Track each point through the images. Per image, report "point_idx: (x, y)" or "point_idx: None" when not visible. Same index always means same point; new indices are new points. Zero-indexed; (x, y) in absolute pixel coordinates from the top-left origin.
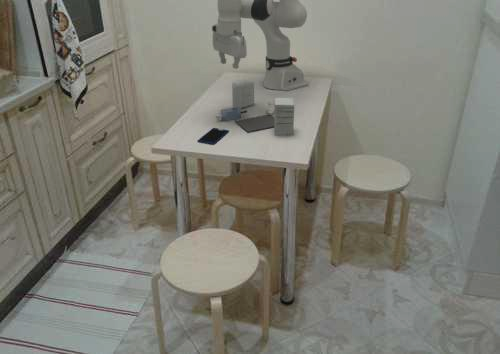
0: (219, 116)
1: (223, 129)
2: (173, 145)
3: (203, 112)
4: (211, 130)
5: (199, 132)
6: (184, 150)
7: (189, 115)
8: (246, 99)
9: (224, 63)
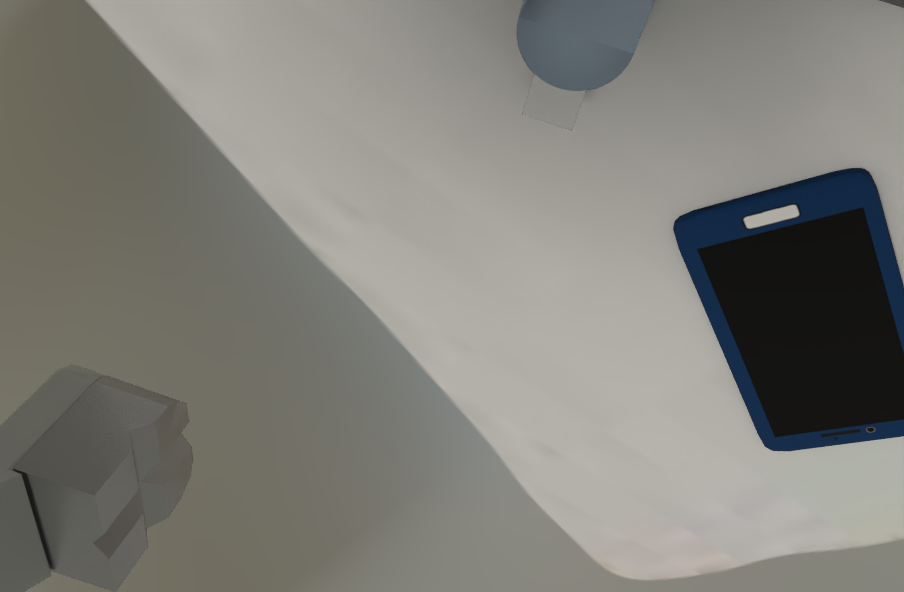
0: (580, 104)
1: (792, 196)
2: (674, 536)
3: (251, 21)
4: (708, 277)
5: (641, 338)
6: (797, 551)
7: (255, 165)
8: None
9: (177, 430)
